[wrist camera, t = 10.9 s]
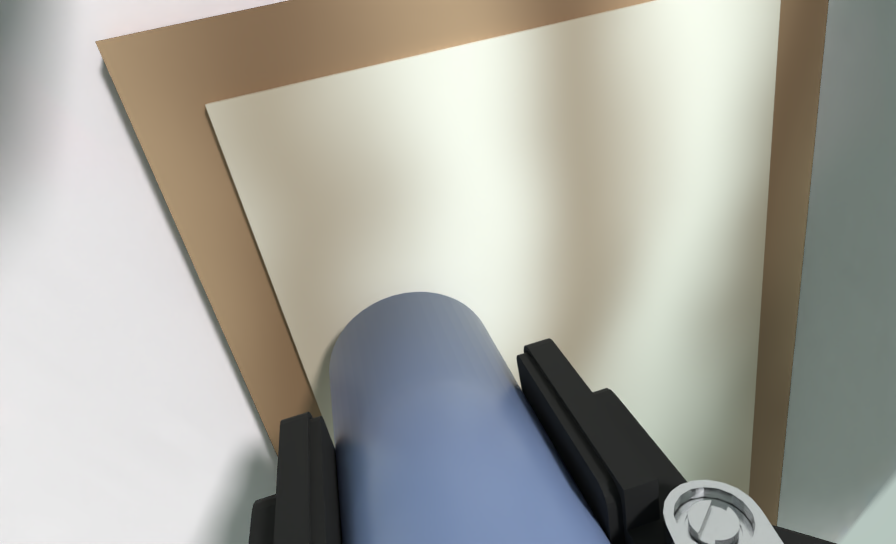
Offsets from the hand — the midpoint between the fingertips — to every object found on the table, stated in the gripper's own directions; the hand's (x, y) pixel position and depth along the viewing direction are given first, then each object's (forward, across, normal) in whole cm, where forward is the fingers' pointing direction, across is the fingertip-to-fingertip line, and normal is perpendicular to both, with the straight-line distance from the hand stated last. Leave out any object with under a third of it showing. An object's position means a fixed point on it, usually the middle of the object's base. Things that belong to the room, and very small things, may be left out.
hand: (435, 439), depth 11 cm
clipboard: (+4, -4, +3) cm, 7 cm away
